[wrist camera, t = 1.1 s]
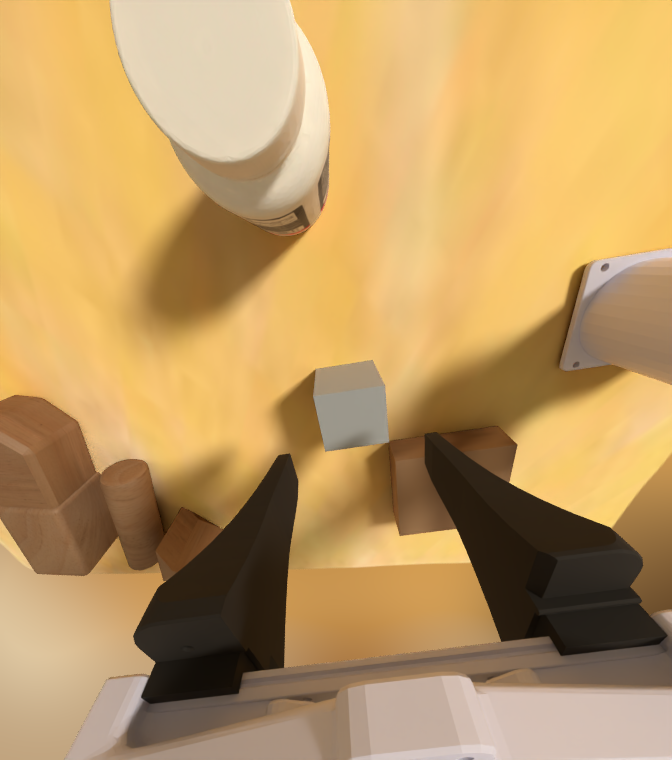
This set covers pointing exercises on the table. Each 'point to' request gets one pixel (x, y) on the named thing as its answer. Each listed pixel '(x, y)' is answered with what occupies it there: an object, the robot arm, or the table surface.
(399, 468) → the walnut block
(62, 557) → the wooden block set
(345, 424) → the grey cube
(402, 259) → the table surface
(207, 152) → the pill bottle
